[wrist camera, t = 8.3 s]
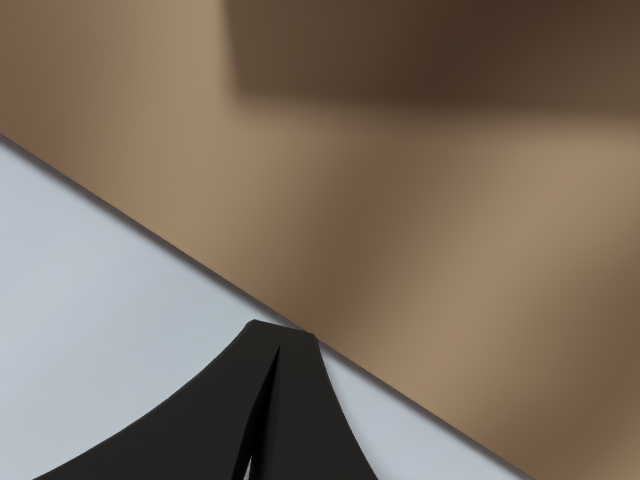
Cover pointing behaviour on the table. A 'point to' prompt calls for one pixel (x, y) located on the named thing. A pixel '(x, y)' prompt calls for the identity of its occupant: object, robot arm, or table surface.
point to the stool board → (381, 186)
